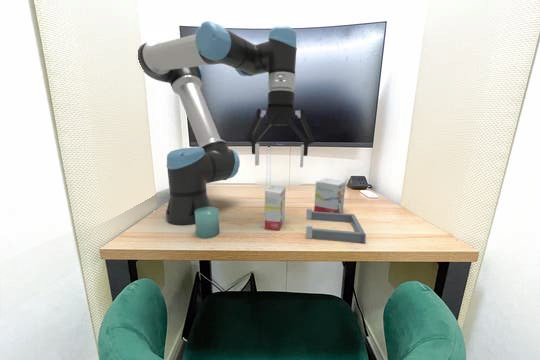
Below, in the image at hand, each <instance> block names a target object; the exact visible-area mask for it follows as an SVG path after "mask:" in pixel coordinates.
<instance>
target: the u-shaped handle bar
mask: <svg viewBox="0 0 540 360" xmlns="http://www.w3.org/2000/svg"><path fill="white" fill-rule="evenodd" d="M312 208H313V207H306V220H308V221H309V220H311V221H313V220H314V221H324V222H325V221H327V222H338V223H350V225H351V227H352V229H353V231H350V230H349V231H348V230H335V229H327V228H326V229H324V228H313V224H311V223H306V228H305V239H308V240H313V239H314V240H321V241H322V240H324V241H333V242H334V241H335V242H346V243H356V244H366V240H367V239H366V237H367V234H366V232H365V231H364V229H363V227H362V226H361V223H360V221H358V219H357V216H356V215H355V214H354V213H342V212H341V213H328V212H314V210H313V209H312Z"/></svg>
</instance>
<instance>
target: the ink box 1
mask: <svg viewBox="0 0 540 360" xmlns="http://www.w3.org/2000/svg"><path fill="white" fill-rule="evenodd" d="M285 209H286V186H280V185H273V184H272V185H270V186H269V187H268V188H267V189H265V190H264V229H265V230H273V231H281V229H282V226H283V224H284V222H285V219H286V218H285V217H286V215H285V213H286V211H285Z"/></svg>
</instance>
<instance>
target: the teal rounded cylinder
mask: <svg viewBox="0 0 540 360" xmlns="http://www.w3.org/2000/svg"><path fill="white" fill-rule="evenodd" d="M219 214H220V213H219V208H217V207H216V206H212V207H202V208H199V209H197V210H195V223H194V224H195V236H196V237H197V238H198V239H201V240H202V239H203V240H206V239H213V238H215V237H217V236H219V234H220V218H219V217H220V216H219Z"/></svg>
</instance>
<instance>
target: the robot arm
mask: <svg viewBox="0 0 540 360" xmlns="http://www.w3.org/2000/svg"><path fill="white" fill-rule="evenodd" d="M297 49H298V48H297V33H296V31H295V29H293V28H292V27H290V26H287V25H286V26H285V25H279V26H274V27H273V28H272V29H271V30H269V34H268V40H267V41H265V42H262V43H257V44H254V43H252V42H250V41H248V40H246V39H245V38H243V37H241V36H239V35H238V34H235V33H234V32H232V31H230V30H228V29H227V28H225V27H224V26H222V25H220V24H218V23H215V22H212V21H208V20H207V21H204V22H202V23H201V25H200V26H199V27H198V28H197V30H196V33H195V34H192V35H191V34H190V35H187V36H184V37H180V38H176V39H172V40H169V41H168V40H167V41H164V42H159V41H155V40H153V41H152V40H151V41H147V42H145V43H143V44H142V45H140V46H139V47H138V49H137V52H138V60H139V63H140V65H141V67H142V69H143V70H144V71H143V70H142V69H141V70H142V71H143V73H144V74H146V75H147V76H148V77H150V78H151V79H153V80H156V81H159V82H163V83H167V84H170V87H171V90H172V91H173V93H174V94H176V95H178V96H179V98H180V101H181V103H182V107H183V109H184V111H185V113H186V116H187V119H188V122H189V124H190V127H191V129H192V133H193V135H194V136H195V140H196V141H197V144H198V146H197V147H195V146H194V147H183V148H178V149H174V150H171V151H169V152H168V154H167V155H166V168H167V178H168V186H169V187H168V188H169V200H168V204H167V207H166V211H165V217H166V218H165V219H166V220H165V221H166V222H168V223H169V224H173V225H176V226H177V225H183V226H186V225H194V224H196V223H195V210H197V209H199V208H202V207H213V206H212V203H211V201H210V199H209V196H208V193H207V184H210V183H215V182H221V181H226V180H228V179H232V178H234V177H235V176H236V175H237V174H238V172H239V168H240V165H241V163H240V162H241V161H240V157H239V154H238V152H237V151H236V150H234V149H232V148H229V146H228V143H227V141H226V140H223V139H221V137H220V135H219V132H218V129H217V126H216V124H215V122H214V120H213V116H212V115H211V112H210V110H209V108H208V107H209V106H208V105H207V102H206V100H205V96H203V92H202V90H201V88H202V85H203V81H204V77H203V75H204V72H203V71H204V70H203V66H210V65H211V66H213V65H220V64H222V65H225V66H228V67H231V68H233V69H234V70H235V71H236V72H237V74H238V75H240V76H242V77H252V76H256V75H259V74H260V75H261V74H266V73H268V75H267V79H268V81H267V85H268V86H267V89H268V92H267V108H266V110H264V109H260V108H257V109H256V113H255V118H254V120H253V122H252V124H251V126H250V128H249V131H248V133H247V135H246V137H245V141H246V142H249V143H251V154H252V155H254V165H255V167H256V166H259V165H260V143H258V142H259V140H261V138H262V137H263V135H264V134H265V133H266V132H267V130H269V129H270V127H271V126H288V125H289V126H290V128H291V129H292V130H293V131H294V132H295V134H296V135H297V137H299V139H300V141H302V143H303V144H301V145H300V161H299V162H300V164H299V167H300V168H303V167H304V157H305V156H306V157H307V156H308V151H309V145H310V144H312V143H313V144H314V143H315V142H316V140H315V138H314V135H313V133H312V131H311V128H310V126H309V123H308V121H307V118H306V113H305V112H306V111H305V109H300V110H295V92H294V91H295V90H296V63H297V62H296V60H297ZM141 67H140V68H141ZM265 116H266V117H267V118H268V119H267V120H266V122H265V123H264V125H263V126H262V128H261V129H260V130H259V131H258V132H257V133H256V130H257V128H258V126H259V124H260V122H261V120H262V118H264V117H265ZM295 116H297V118H298V119H300V122H301V124H302V126H303V129H304V130H305V133H306V135H307V138H308V139H306V137H305V136H304V135H303V133H302V132H301V130H300V128H298V127H297V125H296V124H295V123H294V122H293V119H294V117H295ZM255 133H256V135H255Z"/></svg>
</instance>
